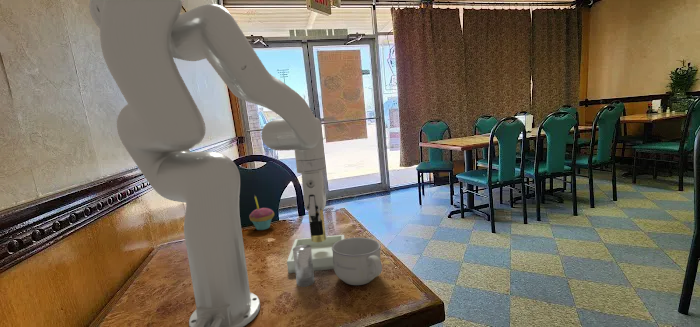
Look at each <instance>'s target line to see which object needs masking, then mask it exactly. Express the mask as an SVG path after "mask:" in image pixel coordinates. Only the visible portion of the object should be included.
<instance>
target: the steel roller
mask: <svg viewBox="0 0 700 327" xmlns="http://www.w3.org/2000/svg"><path fill="white" fill-rule="evenodd" d="M293 255H294V264H295V279H296V280H295V282H296V286H298V287H300V288H304V287H310V286H312V285H313V284H314V283H315V274H314V273H315V271H313V261H312V252H311V246H310V245H299V246H296V247H294V248H293Z"/></svg>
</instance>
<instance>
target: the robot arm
mask: <svg viewBox="0 0 700 327" xmlns="http://www.w3.org/2000/svg"><path fill="white" fill-rule="evenodd" d="M182 6H183V0H89V7H88V8H89V12H90V15H91V18H92V20H93V21H94V23H95V25H96V26H97V27H98V28H99V40H100V48H101V52H102V56H103V58H104V62H105V64H106V66H107V68H108V70H109V72H110V74H111V77H112V78H113V80H114V81H115V84H116V86H117V87H118V89H119V91H120V92H121V95H122V96H123V97H124V99H125V101H126V103H127V104H126V105H124V106H123V108H121V110H120V111H119V113H118V115H117V119H116V130H117V134H118V137H119V140H120V141H121V143H122V145H123V146H124V148H125V149H126V152H127V153H128V154H129V156H130V157H131V159H132V160H133V161H134V163H135V165H136V167H138V169H139V171H140V172H141V173H142V175H143V177H144V178H145V179H146V181H147V182H148V184H149V185H150V186H151V187H152V189H153V190H154V191H155V192H156V193H157V194H158V195H160V196H161V197H162V198H164V199H166V200H170V201H173V202H178V203H183V204H184V203H185V204H186V205H185V206H186V207H185V215H184V220H183V234H184V236H183V237H184V241H185V246H186V247H185V248H186V252H187V259H188V264H189V265H188V266H189V271H190V276H191V283H192V288H193V289H192V290H193V295H194V296H193V297H194V301H195V307H196V309H195V310H194V311H193V312H192V314H191V315H190V317H189V319H188V320H189V321H188V325H189V327H245V326H247V325H248V324H249V323H250V322H252V321H254V319H255V318H256V316H257V315H258V314H259V312H260V309H261V301H260V298H259V296H258V295H256V294H254V293H253V292H251V290H250V282H249V275H248V268H247V261H246V252H245V246H244V245H245V244H244V237H243V232H242V225H241V224H242V223H241V217H240V215H241V214H240V194H241V174H240V170H239V169H238V166H237V165H236V163H235V162H234V160H232V159H231V158H230V157H228V156H227V155H225V154H223V153H220V152H217V151H216V152H215V151H190V149H193V148H195V147H196V146H199V144H200V143H202V141H204V138H205V136H206V130H207V129H206V124H205V121H204V118H203V115H202V113H201V111H200V109H199V108H198V106H197V103H196V102H195V100H194V98H193V96H192V94H191V93H190V90H189V89H188V87H187V85H186V83H185V81H184V79H183V77H182V75H181V74H180V72H179V69H178V66H177V64H176V63H175V62H176V61H175V60H174V59H177V60H182V61H187V62H197V61H202V60H206V61H208V63H209V64H210V65H211V67H212V68H213V70H214V71H215V72H216V73H217V75H218V76H219V77H220V79H221V80H222V81H223V83H224V84H225V85H226V86H227V88H228V89H229V90H230V92H231V93H232V94H233V95H234V97H236V98H238V99H241V100H243V101H245V102H249V103H250V104H254V105H257V106H260V107H263V108H266V109H267V110H270V111H272V112H274V113H275V114H276V115H278V116H279V117H281V118H280V119H279V118H277V119H273V120H270V121H268V122H267V123H266V124H265V125H264V126H263V128H262V130H261V140H262V142H263V143H264V146H266V147H267V148H269V149H271V150H273V151H294V155H295V157H294V159H295V166H296V173H297V174H301V184H302V193H303V202H304V208H305V211H307V212H308V211H309V214H308V218H309V217H310V223H309V230H311V232H310V237H311V236H318V235H323V226H322V220H321V216H320V209H322V210H323V211H324V210H325V208H326V205H327V195H326V188H325V187H326V186H325V181H324V173H323V172H324V171H326V168H327V167H326V158H325V150H324V149H325V148H324V140H323V130H322V128H323V127H322V122H321V119H320V118H318V117H316V116H315V115H314V113H313V111H312V110H311V108H310V106H309V105H308V103H307V102H306V100H305V99H304V98H303V97H302V96H301V95H300V93H298V92H297V91H295V90H294V89H293V88H291V87H290V86H289V85H287V84H286V83H284V82H283V81H282V80H280V79H278V78H277V77H275V76H273V75H272V74H271V73H270V72H269V71H268V70H267V68H266V67H265V65H264V64H263V62H262V60H261V59H260V57H259V56H258V54H257V53H256V51H255V49H254V48H253V47H252V45H251V43H250V42H249V40H248V38H247V37H246V35H245V34H244V32H243V30H242V28H241V27H240V26H239V24H238V22H237V21H236V19H235V18H234V17H233V15H232V14H231V13H230V12H229V11H228V10H227V9H226V8H225V7H224V6H222V5H219V4H213V3H210V4H209V3H208V4H203V5H200V6H197V7H194V8H192V9H190V10H187V11H186V12H183V13H181V11H182ZM316 212H318V214H317V213H316Z"/></svg>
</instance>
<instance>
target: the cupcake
mask: <svg viewBox="0 0 700 327" xmlns="http://www.w3.org/2000/svg"><path fill="white" fill-rule="evenodd" d="M253 196H254V200H255V204H256V209H254V210H252V211H251V212H250V213H249V215H248V216H249V217H248V218H249V220H250V222H252V223H253V225H254V227H255V230H257V231H264V230H268V229H269V228H271V223H272V219H273V218H274V217H275V212H274V210H273V209H272V208H269V207H260V206H259V202H258V198H257V196H256V195H255V194H254V195H253Z"/></svg>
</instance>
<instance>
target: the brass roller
mask: <svg viewBox="0 0 700 327" xmlns="http://www.w3.org/2000/svg"><path fill="white" fill-rule="evenodd" d="M307 213H308V215H309V211H307ZM316 213H317V214H318V212H316ZM320 216H321V220H322V226H323V235H318V236H311V235H310V238H311V241H312V242H322V241H324V240H326V236H327V234H326V225H325V217H324V216H325V214H324V209H323V210H322V209H320ZM308 221H309V224H310V217H309V216H308ZM309 230H310V229H309ZM310 233H311V230H310Z"/></svg>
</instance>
